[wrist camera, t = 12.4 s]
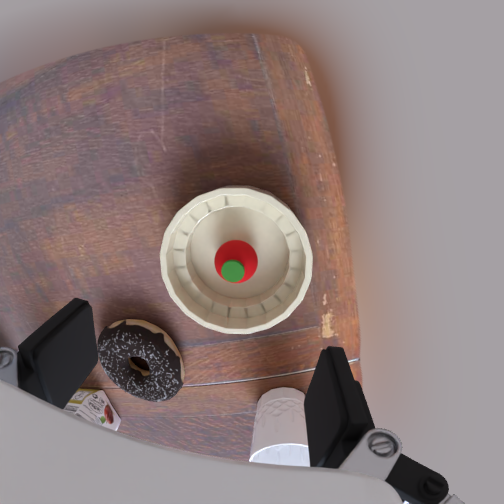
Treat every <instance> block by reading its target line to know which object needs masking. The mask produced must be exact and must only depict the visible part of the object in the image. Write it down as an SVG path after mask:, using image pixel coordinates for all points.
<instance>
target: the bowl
mask: <svg viewBox="0 0 504 504" xmlns="http://www.w3.org/2000/svg"><path fill="white" fill-rule="evenodd" d="M230 240H242V241H245V242H247V243H248V244H250V245H251V246H252V247H253V248H254V250H255V252H256V254H257V258H258V266H257V269H256V272H255V273H254V275H253V276H252V277H251V278H250V279H248V280H247V281H245V282H242V283H230V282H227V281H225V280H224V279H222V278H221V277H220V276H219V274H218V273H217V271H216V269H215V265H214V258H215V255H216V252H217V250H218V249H219V247H220V246H221V245H223V244H224V243H226V242H228V241H230ZM160 262H161V273H162V278H163V280H164V283H165V285H166V287H167V290H168V292H169V294H170V297H171V298H172V299H173V300H174V301H175V303H176V304H177V305H178V306H179V307H180V309H181V310H182V311H183V312H184V313H185V314H186V315H187V316H189V317H190V318H192V319H193V320H195V321H196V322H198V323H199V324H201V325H202V326H204V327H207V328H210V329H213V330H216V331H219V332H222V333H232V334H249V333H253V332H257V331H261V330H265V329H268V328H271V327H272V326H274V325H276V324H277V323H279V322H281V321H282V320H284V319H285V318H287V317H288V316H289V315H290V314H291V313H292V312H293V311H294V309H295V308H296V307H297V306H298V305H299V304H300V302H301V301H302V300H303V298H304V296H305V293H306V291H307V289H308V286H309V284H310V281H311V278H312V262H313V254H312V250H311V247H310V243H309V240H308V236H307V233H306V231H305V229H304V228H303V226H302V225H301V223H300V222H299V220H298V219H297V217H296V216H295V214H294V213H293V211H292V210H291V209H290V207H289V206H288V205H287V204H286V203H284V202H283V201H282V200H280V199H279V198H277V197H276V196H275V195H273V194H272V193H270V192H268V191H265V190H262V189H259V188H256V187H253V186H249V185H230V186H224V187H221V188H218V189H215V190H212V191H210V192H207V193H204V194H201V195H199V196H197V197H195V198H194V199H193V200H191V201H190V202H189V203H187V204H186V205H185V206H184V207H182V208H181V209H180V210H179V211H178V212H177V213H176V215H175V216H174V218H173V219H172V221H171V222H170V224H169V226H168V227H167V229H166V231H165V233H164V237H163V242H162V246H161V250H160Z"/></svg>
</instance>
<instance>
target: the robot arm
mask: <svg viewBox="0 0 504 504" xmlns="http://www.w3.org/2000/svg"><path fill="white" fill-rule="evenodd" d="M18 348H19V352H17V353H16V352H15V350H13V349H12V348H9V347H0V504H465V503H464V502H463V501H461V500H460V499H459V498H458V497H457V496H456V495H455V494H453V496H450V495H449V494H448V490H449V488H448V483H447V481H446V480H445V478H444V477H443V476H442V475H440V474H439V473H437V472H435V471H433V470H431V469H429V468H427V467H425V466H423V465H421V464H419V463H418V462H416V461H414V460H412V459H411V458H409V457H407V456H405V455H403V454H401V451H402V443H401V440H400V438H398V436H397V435H396V434H395V433H393V432H391V431H389V430H386V429H382V428H377V429H375V426H374V423H373V420H372V417H371V414H370V411H369V408H368V405H367V402H366V400H365V396H364V394H363V391H362V388H361V385H360V383H359V382H358V381H355V380H354V377H353V375H352V372H351V369H350V366H349V363H348V360H347V358H346V355H345V352H344V349H343V348H342V347H332V346H328V347H327V349H326V350H325V349H323V350H322V351H321V354H320V357H319V360H318V363H317V366H316V369H315V371H314V374H313V377H312V380H311V383H310V385H309V388H308V391H307V393H306V396H305V399H304V413H305V421H306V430H307V440H308V449H309V459H310V467H306V466H290V465H277V464H266V463H257V462H249V461H241V460H234V459H227V458H221V457H215V456H209V455H204V454H199V453H194V452H189V451H185V450H181V449H176V448H172V447H168V446H164V445H160V444H157V443H153V442H150V441H146V440H143V439H139V438H136V437H133V436H130V435H127V434H124V433H121V432H118V431H115V430H112V429H109V428H106V427H104V426H101V425H98V424H96V423H93V422H91V421H88V420H86V419H83V418H81V417H78V416H76V415H74V414H71V413H69V412H67V411H65V410H63V409H64V408H65V406H66V405H67V404H68V402H69V401H70V399H71V398H72V397H73V395H74V394H75V393H76V391H77V390H78V388H79V387H80V386H81V384H82V383H83V382H84V380H85V379H86V378H87V376H88V375H89V374H90V372H91V371H92V370H93V368H94V367H95V366H96V364H97V362H98V351H97V344H96V337H95V330H94V321H93V312H92V307H91V306H90V305H89V303H88V301H86V300H82V299H79V298H74V299H73V300H72V301H70V302H69V303H68V304H67V305H66V306H64V307H63V308H62V309H61V310H59V311H58V312H57V313H56V314H55V315H53V316H52V317H51V318H50V319H49V320H47V321H46V322H45V323H44V324H43V325H42V326H40V327H39V328H38V329H37V330H36V331H35V332H33V333H32V334H31V335H30V336H29V337H28V338H27V339H25V340H24V341H23V342H22V343H21V344H20V345H19V346H18Z"/></svg>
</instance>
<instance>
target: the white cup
mask: <svg viewBox="0 0 504 504" xmlns="http://www.w3.org/2000/svg"><path fill="white" fill-rule="evenodd" d="M304 399H305V395H304V393H303V392H301V391H299V390H297V389H295V388H287V387H281V388H276V389H271V390H270V391H268V392H266V393H265V394H263V395H262V396H261V398H260V399H259V401H258V403H257V412H256V417H255V421H254V428H253V434H252V442H251V450H250V457H249V462H257V463H266V464H277V465H290V466H306V467H310V459H309V449H308V440H307V430H306V421H305V413H304Z"/></svg>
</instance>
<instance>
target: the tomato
mask: <svg viewBox="0 0 504 504" xmlns="http://www.w3.org/2000/svg"><path fill="white" fill-rule="evenodd" d="M214 265H215V269H216V271H217V273H218V274H219V276H220V277H221V278H222V279H224V280H225V281H227V282H230V283H242V282H245V281H247V280H248V279H250V278H251V277H252V276H253V275H254V273H255V272H256V269H257V266H258V258H257V254H256V252H255V250H254V248H253V247H252V246H251V245H250V244H248V243H247V242H245V241H242V240H230V241H228V242H226V243H224V244H223V245H221V246H220V247H219V249H218V250H217V252H216V255H215V258H214Z"/></svg>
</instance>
